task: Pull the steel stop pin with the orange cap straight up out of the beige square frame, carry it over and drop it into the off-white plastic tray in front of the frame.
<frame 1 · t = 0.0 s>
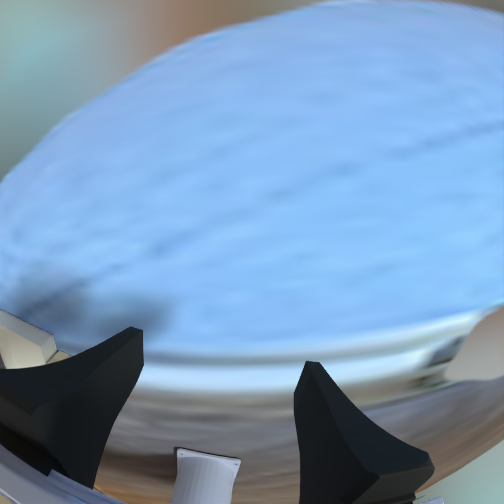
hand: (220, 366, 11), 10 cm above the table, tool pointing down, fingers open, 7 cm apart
tray: (33, 354, 25), on the table
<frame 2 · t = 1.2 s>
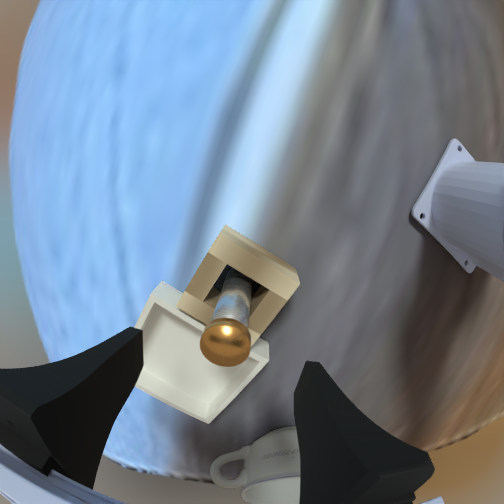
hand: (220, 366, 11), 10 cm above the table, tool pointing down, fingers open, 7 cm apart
tray: (189, 353, 23), on the table
beige square frame: (239, 279, 21), on the table
stop pin: (233, 305, 17), in the beige square frame
teacup: (279, 437, 27), on the table
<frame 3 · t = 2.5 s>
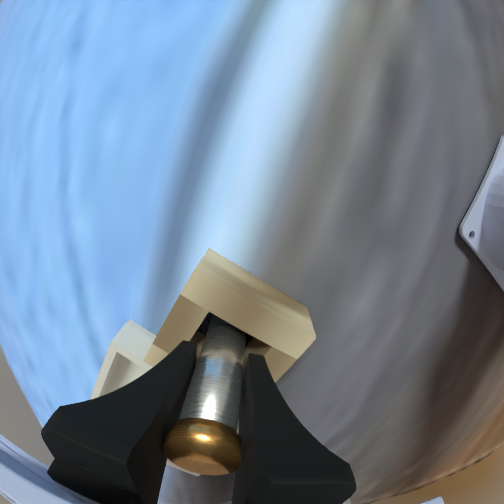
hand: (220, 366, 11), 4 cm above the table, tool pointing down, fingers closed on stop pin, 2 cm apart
tray: (170, 402, 17), on the table
beige square frame: (229, 321, 15), on the table
stop pin: (218, 373, 11), in the beige square frame, touching gripper
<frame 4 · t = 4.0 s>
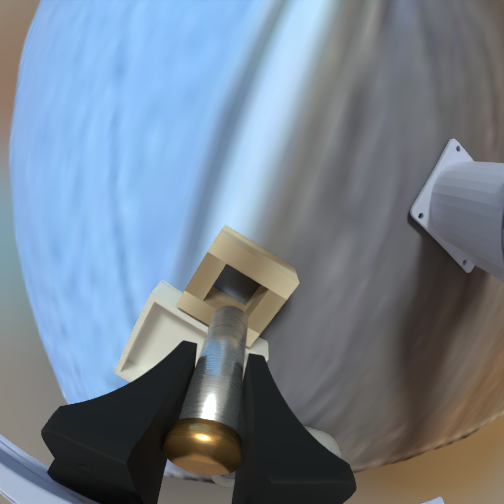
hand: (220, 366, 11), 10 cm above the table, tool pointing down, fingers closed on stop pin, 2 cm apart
tray: (188, 352, 23), on the table
beige square frame: (238, 278, 21), on the table
stop pin: (218, 373, 11), point 11 cm above the table, touching gripper
teacup: (278, 436, 27), on the table
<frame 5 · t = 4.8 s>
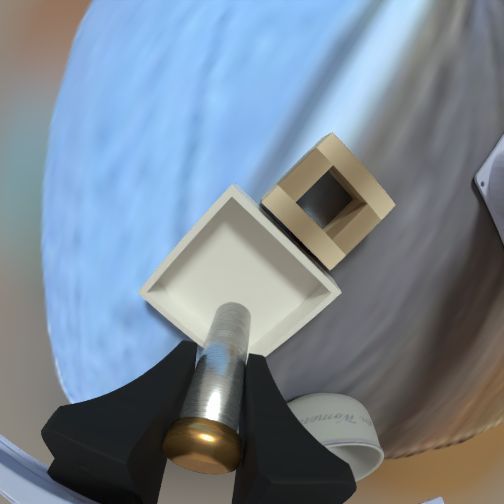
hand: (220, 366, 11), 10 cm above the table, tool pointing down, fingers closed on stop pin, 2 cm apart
tray: (238, 280, 21), on the table
beige square frame: (322, 198, 19), on the table
stop pin: (220, 371, 11), point 10 cm above the table, touching gripper
teacup: (302, 407, 25), on the table
when the fingers open (6 cm above the table, at t = 5.6 s): stop pin drops 2 cm, resting on tray.
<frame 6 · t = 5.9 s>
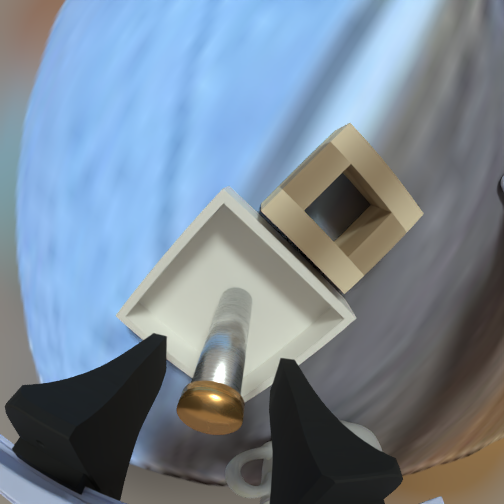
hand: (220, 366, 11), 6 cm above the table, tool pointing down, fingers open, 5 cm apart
tray: (234, 301, 17), on the table
beige square frame: (334, 203, 16), on the table
stop pin: (225, 346, 13), in the tray
teacup: (305, 433, 21), on the table
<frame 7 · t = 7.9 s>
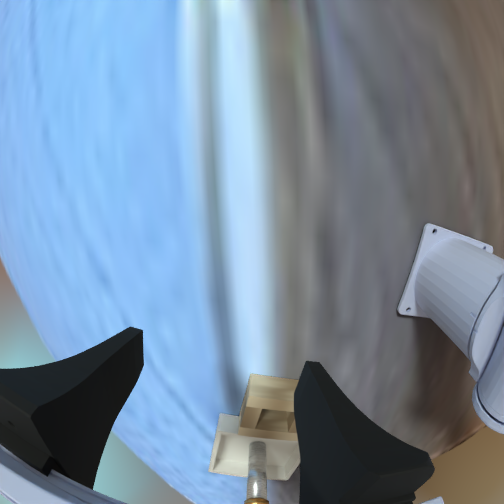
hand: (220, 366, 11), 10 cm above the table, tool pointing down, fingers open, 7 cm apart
tray: (257, 444, 27), on the table
beige square frame: (275, 399, 25), on the table
stop pin: (257, 475, 22), in the tray
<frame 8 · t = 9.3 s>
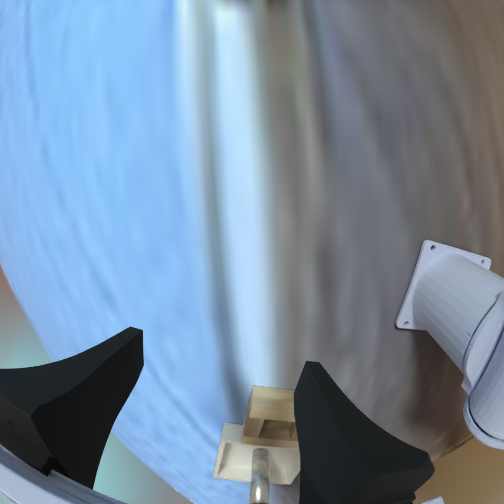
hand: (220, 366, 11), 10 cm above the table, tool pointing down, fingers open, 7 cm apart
tray: (260, 450, 28), on the table
beige square frame: (276, 408, 25), on the table
stop pin: (259, 481, 23), in the tray
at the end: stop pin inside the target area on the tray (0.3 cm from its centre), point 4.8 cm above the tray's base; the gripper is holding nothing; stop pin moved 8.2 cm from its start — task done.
